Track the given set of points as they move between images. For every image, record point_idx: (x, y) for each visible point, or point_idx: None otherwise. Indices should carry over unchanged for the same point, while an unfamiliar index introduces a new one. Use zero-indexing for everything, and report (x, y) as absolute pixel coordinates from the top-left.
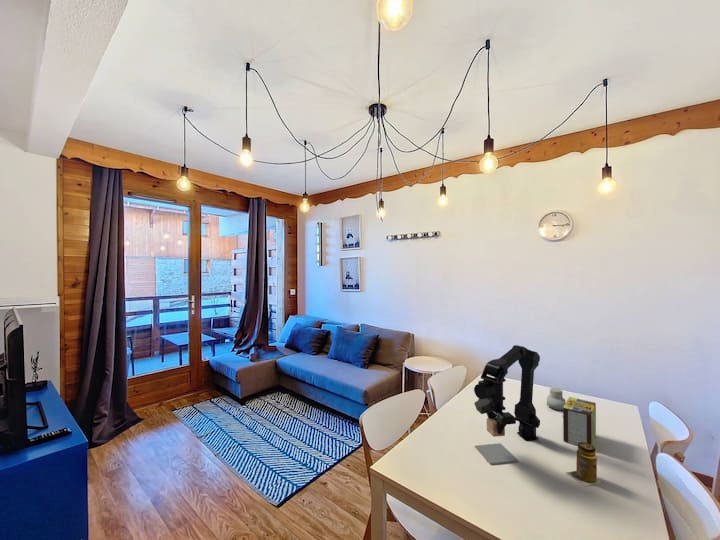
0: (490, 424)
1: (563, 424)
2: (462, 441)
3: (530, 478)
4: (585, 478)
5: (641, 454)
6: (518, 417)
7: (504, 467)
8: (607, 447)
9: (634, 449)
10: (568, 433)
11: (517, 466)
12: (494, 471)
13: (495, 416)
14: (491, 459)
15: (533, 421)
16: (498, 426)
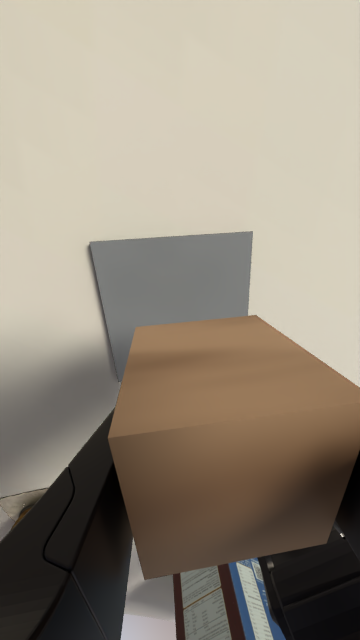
0: (213, 382)
1: (241, 618)
2: (313, 179)
3: (7, 374)
4: (16, 522)
5: (151, 616)
6: (328, 548)
7: (74, 304)
8: None
9: (169, 613)
10: (219, 581)
11: (87, 361)
12: (33, 236)
13: (357, 543)
14: (122, 264)
15: (266, 589)
16: (50, 490)
